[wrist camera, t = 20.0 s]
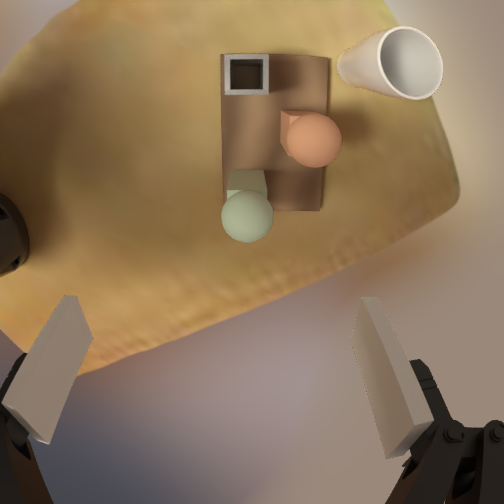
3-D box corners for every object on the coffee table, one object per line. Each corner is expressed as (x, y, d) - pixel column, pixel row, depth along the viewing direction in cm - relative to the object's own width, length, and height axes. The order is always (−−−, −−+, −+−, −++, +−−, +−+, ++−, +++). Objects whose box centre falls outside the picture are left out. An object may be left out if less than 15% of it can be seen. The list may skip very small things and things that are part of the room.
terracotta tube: (280, 142, 36) (288, 156, 29) (280, 110, 34) (289, 115, 27) (312, 143, 36) (328, 157, 29) (314, 111, 34) (331, 118, 27)
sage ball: (223, 229, 33) (220, 252, 29) (221, 184, 31) (218, 201, 27) (270, 228, 33) (274, 251, 29) (271, 183, 31) (276, 201, 27)
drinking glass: (327, 89, 34) (374, 92, 21) (330, 39, 30) (377, 16, 17) (377, 97, 34) (442, 108, 21) (381, 49, 30) (446, 38, 17)
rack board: (224, 207, 41) (224, 211, 40) (221, 55, 31) (220, 54, 30) (317, 207, 42) (319, 211, 41) (325, 58, 32) (327, 57, 31)
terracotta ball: (282, 160, 30) (289, 173, 25) (283, 110, 27) (291, 113, 23) (331, 161, 30) (346, 175, 25) (334, 113, 27) (351, 118, 23)
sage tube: (231, 200, 40) (228, 226, 33) (230, 169, 38) (226, 190, 31) (263, 199, 40) (266, 226, 33) (263, 169, 38) (267, 190, 31)
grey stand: (229, 93, 33) (224, 95, 26) (229, 61, 31) (224, 54, 24) (263, 93, 33) (268, 94, 26) (264, 61, 31) (268, 54, 24)
